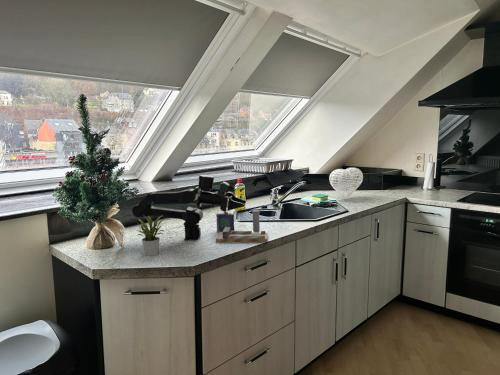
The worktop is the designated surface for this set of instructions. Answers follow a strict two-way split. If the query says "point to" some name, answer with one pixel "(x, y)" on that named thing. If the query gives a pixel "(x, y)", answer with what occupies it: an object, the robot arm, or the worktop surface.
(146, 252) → the house plant
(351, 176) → the heart
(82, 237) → the worktop surface
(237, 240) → the bench
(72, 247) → the worktop surface
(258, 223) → the handle
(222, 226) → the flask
